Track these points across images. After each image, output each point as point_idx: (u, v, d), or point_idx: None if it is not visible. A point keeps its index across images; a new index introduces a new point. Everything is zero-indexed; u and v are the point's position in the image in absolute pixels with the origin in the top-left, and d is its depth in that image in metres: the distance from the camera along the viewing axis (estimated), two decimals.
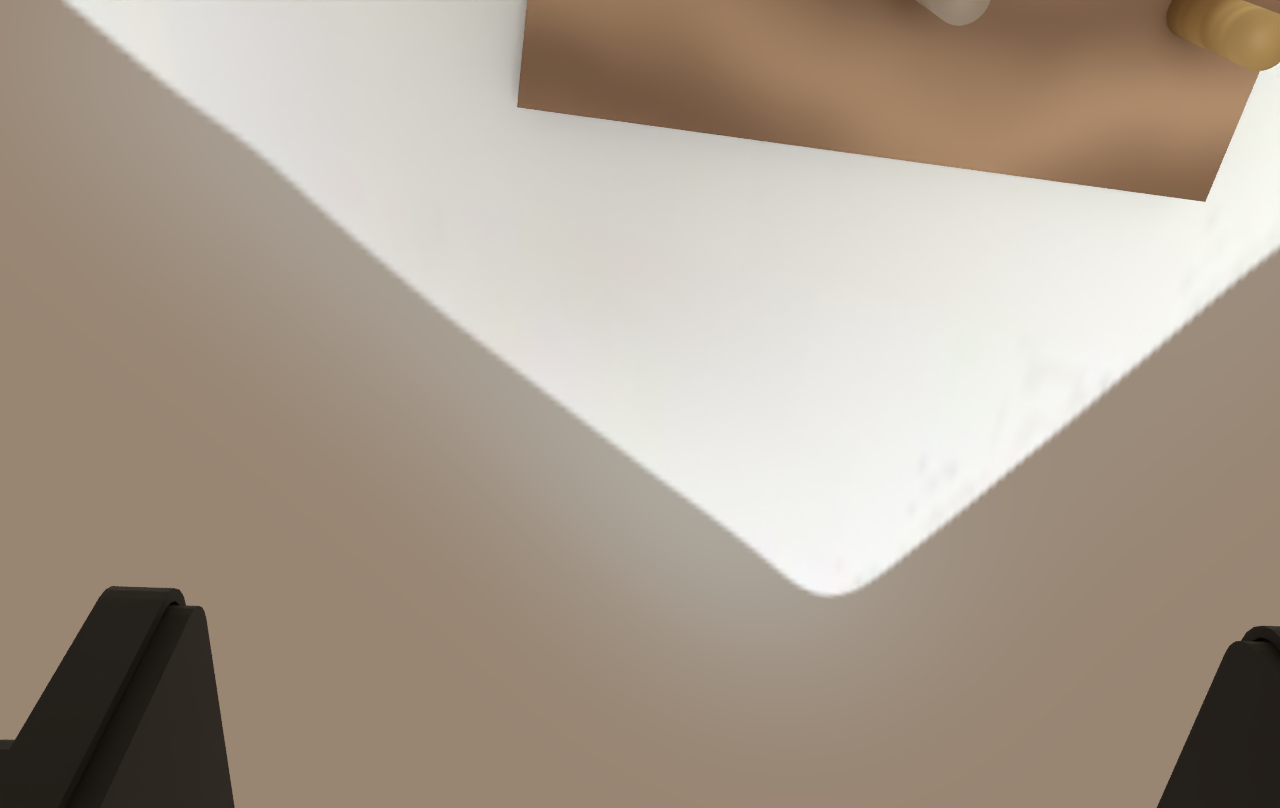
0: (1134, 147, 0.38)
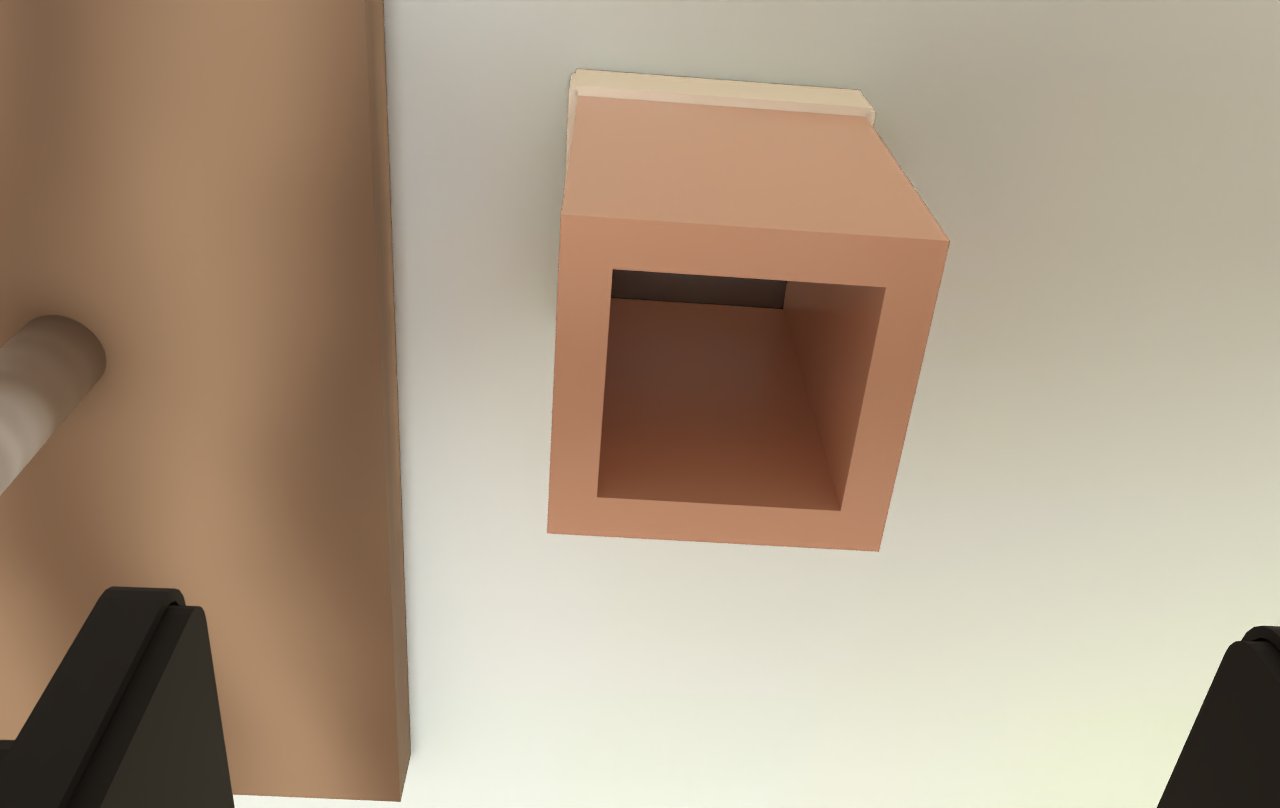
0: None
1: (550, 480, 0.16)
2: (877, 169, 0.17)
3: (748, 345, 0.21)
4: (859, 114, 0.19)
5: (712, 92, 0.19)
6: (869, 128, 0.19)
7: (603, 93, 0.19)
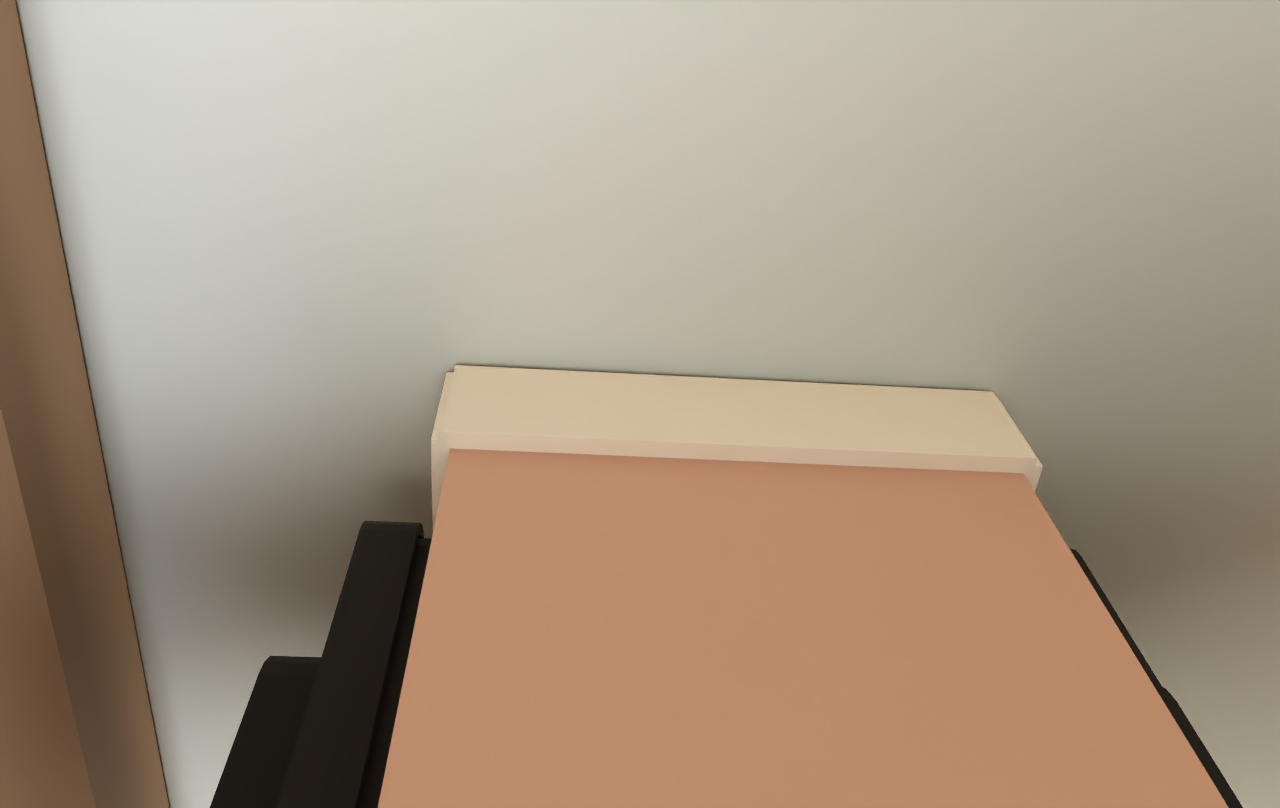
0: None
1: None
2: (1122, 725, 0.07)
3: None
4: (1011, 471, 0.10)
5: (720, 430, 0.10)
6: (1043, 521, 0.09)
7: (501, 445, 0.09)
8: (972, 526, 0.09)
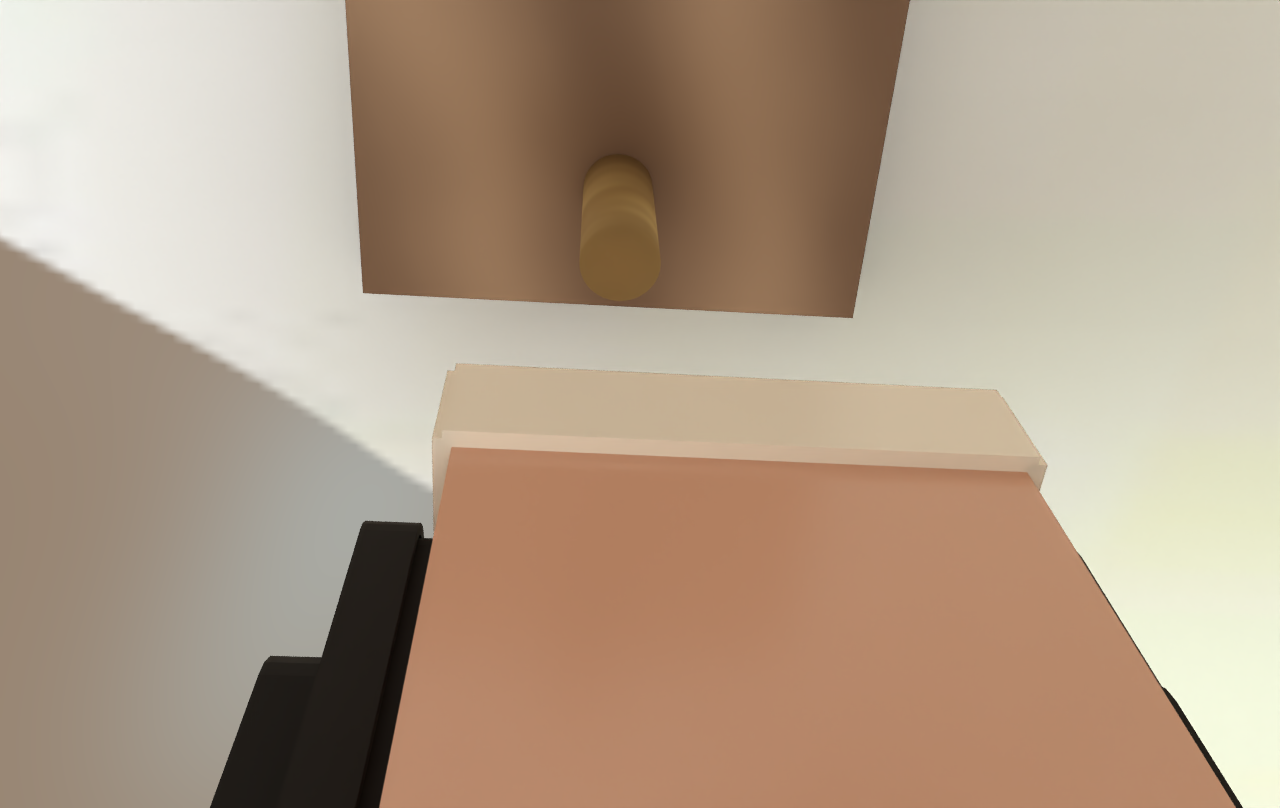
0: (422, 168, 0.25)
1: None
2: (1129, 725, 0.07)
3: None
4: (1015, 469, 0.10)
5: (723, 428, 0.10)
6: (1048, 520, 0.09)
7: (502, 444, 0.09)
8: (976, 525, 0.09)
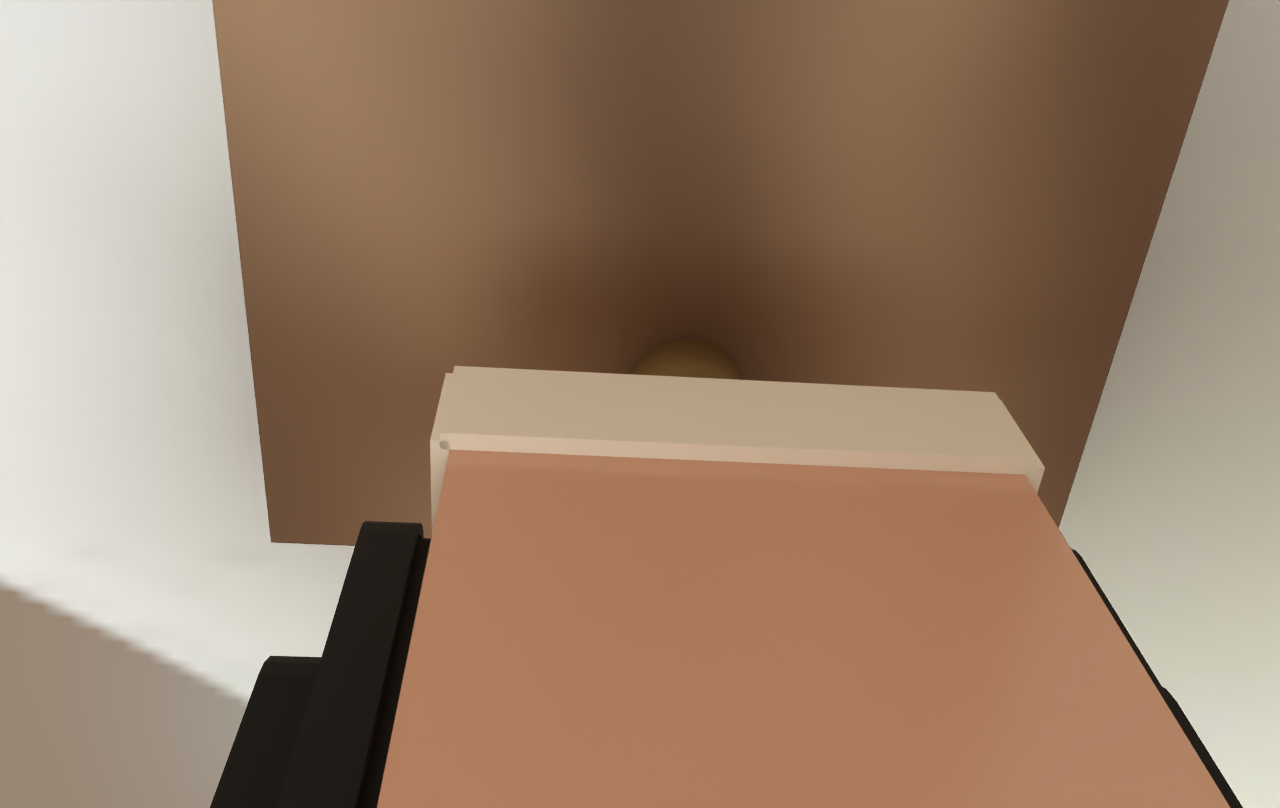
0: (362, 359, 0.15)
1: None
2: (1126, 728, 0.07)
3: None
4: (1013, 472, 0.10)
5: (721, 431, 0.10)
6: (1046, 523, 0.09)
7: (500, 446, 0.09)
8: (974, 528, 0.09)
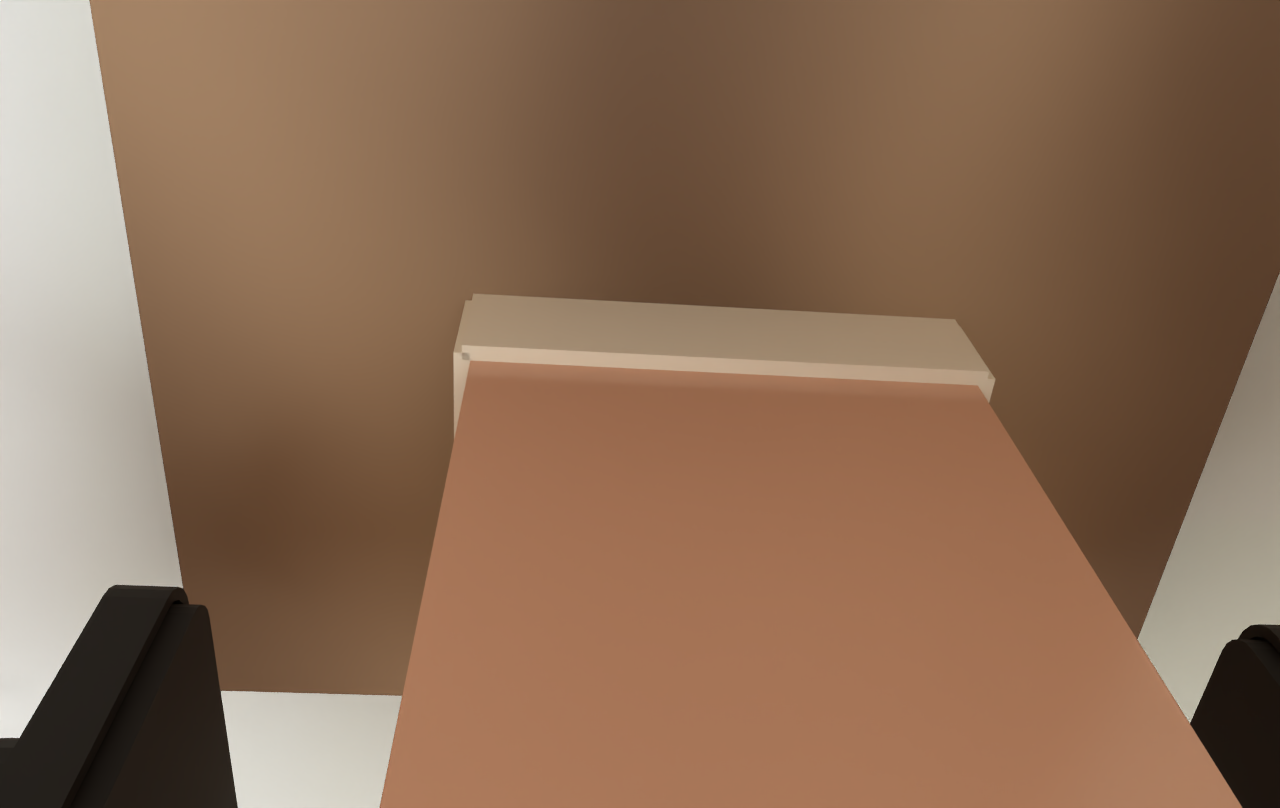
0: (301, 486, 0.13)
1: None
2: (1047, 572, 0.08)
3: None
4: (967, 383, 0.11)
5: (709, 346, 0.11)
6: (993, 422, 0.10)
7: (515, 357, 0.11)
8: (929, 425, 0.10)
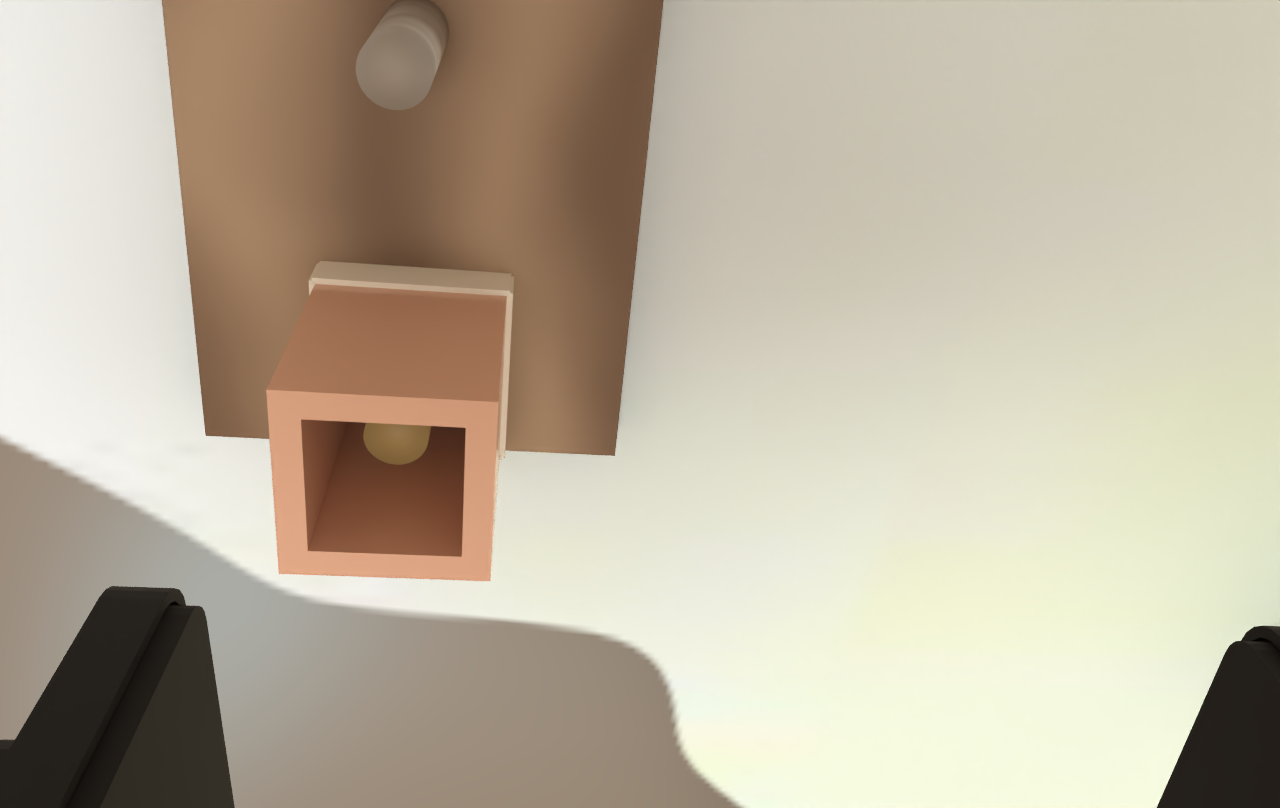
0: (251, 340, 0.31)
1: (277, 541, 0.26)
2: (487, 344, 0.27)
3: (443, 441, 0.31)
4: (502, 295, 0.30)
5: (405, 280, 0.30)
6: (503, 307, 0.29)
7: (331, 282, 0.29)
8: (477, 307, 0.29)
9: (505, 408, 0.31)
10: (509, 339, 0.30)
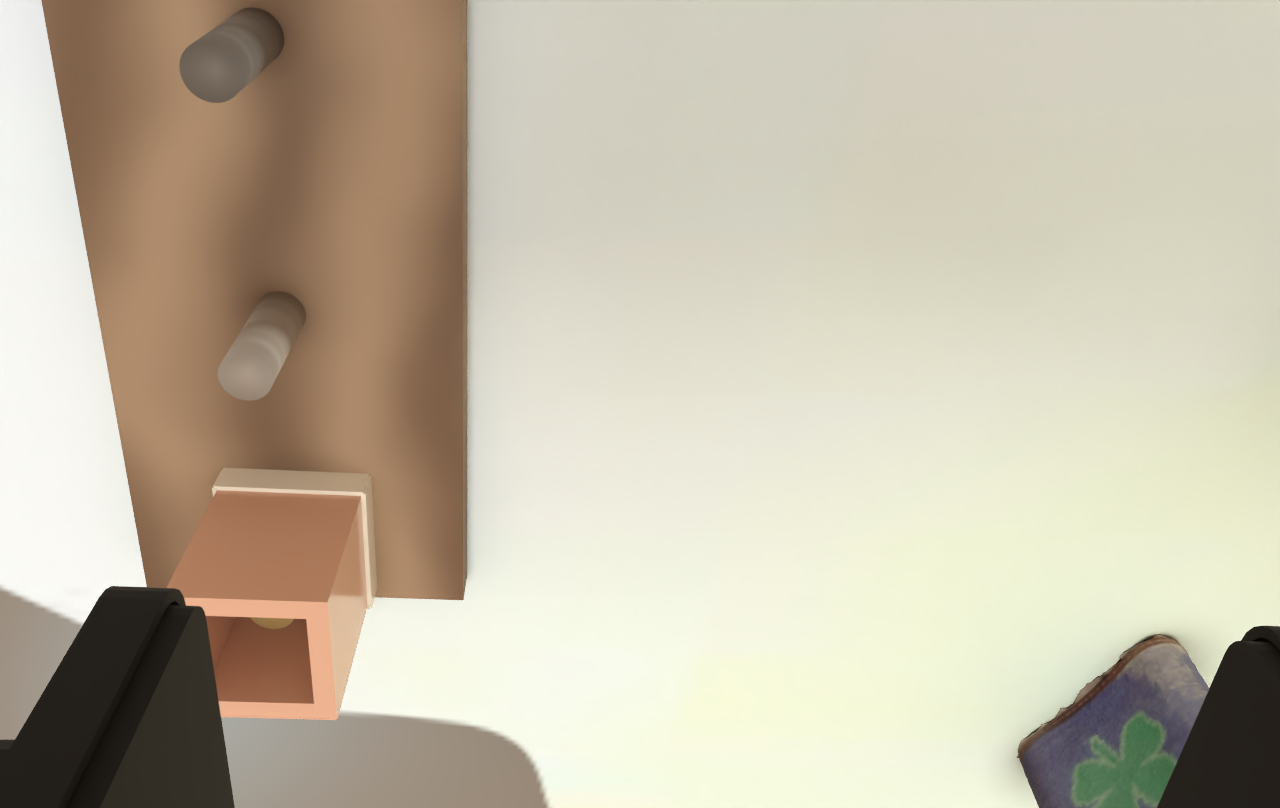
0: (177, 522, 0.41)
1: None
2: (333, 546, 0.37)
3: None
4: (357, 495, 0.39)
5: (285, 485, 0.39)
6: (355, 507, 0.39)
7: (228, 489, 0.39)
8: (335, 508, 0.39)
9: (368, 573, 0.41)
10: (366, 525, 0.40)
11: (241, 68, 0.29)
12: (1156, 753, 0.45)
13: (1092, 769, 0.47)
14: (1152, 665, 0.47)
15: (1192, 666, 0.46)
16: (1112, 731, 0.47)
